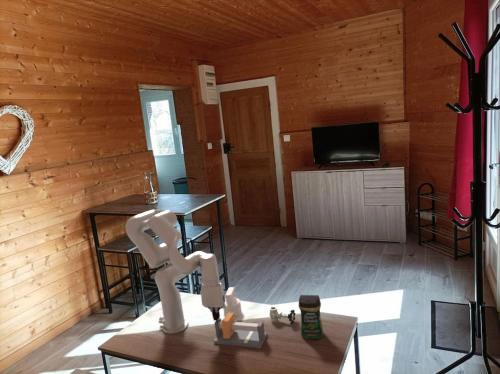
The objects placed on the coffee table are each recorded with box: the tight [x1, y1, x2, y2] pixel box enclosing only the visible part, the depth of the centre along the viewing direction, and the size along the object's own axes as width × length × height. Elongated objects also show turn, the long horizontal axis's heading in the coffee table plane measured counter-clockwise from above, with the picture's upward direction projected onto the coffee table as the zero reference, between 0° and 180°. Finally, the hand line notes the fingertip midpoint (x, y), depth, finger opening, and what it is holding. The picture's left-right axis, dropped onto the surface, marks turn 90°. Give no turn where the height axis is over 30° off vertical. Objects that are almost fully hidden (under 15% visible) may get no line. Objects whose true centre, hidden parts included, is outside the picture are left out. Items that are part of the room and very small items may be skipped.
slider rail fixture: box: [213, 317, 268, 349], centre depth 169 cm, size 22×10×8 cm, turn 70°
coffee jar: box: [298, 294, 324, 340], centre depth 165 cm, size 10×8×19 cm
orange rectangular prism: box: [221, 312, 236, 339], centre depth 171 cm, size 3×8×8 cm, turn 160°
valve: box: [269, 305, 297, 325], centre depth 180 cm, size 7×7×12 cm
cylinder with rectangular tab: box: [223, 286, 242, 318], centre depth 194 cm, size 9×9×12 cm
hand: (216, 319), depth 172 cm, fingers closed
